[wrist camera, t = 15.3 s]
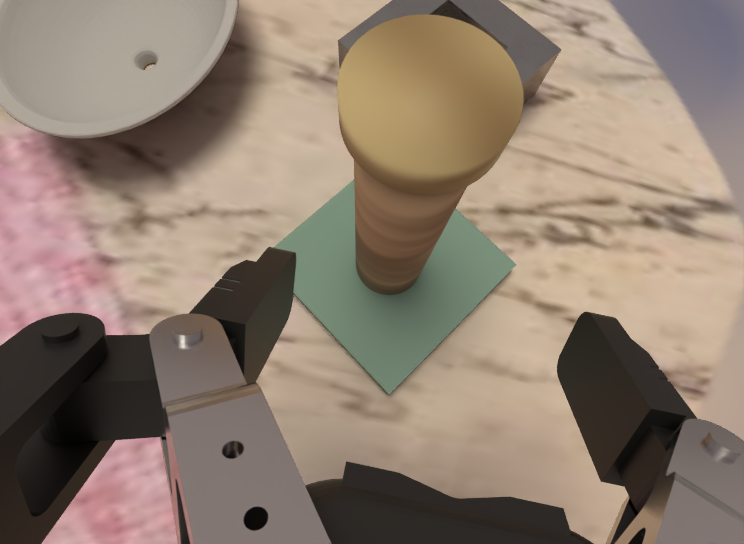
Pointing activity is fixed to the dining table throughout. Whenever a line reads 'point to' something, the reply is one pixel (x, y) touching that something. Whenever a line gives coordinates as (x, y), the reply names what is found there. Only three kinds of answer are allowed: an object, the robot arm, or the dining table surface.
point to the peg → (420, 134)
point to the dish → (105, 60)
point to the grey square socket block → (484, 11)
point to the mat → (390, 312)
